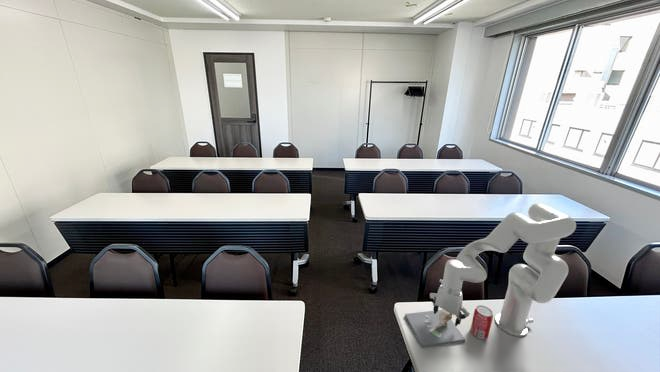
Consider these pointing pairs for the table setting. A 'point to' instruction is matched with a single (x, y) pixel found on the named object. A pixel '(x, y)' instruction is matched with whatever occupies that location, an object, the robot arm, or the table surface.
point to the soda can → (481, 322)
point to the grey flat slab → (440, 336)
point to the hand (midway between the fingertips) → (446, 318)
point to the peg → (443, 319)
